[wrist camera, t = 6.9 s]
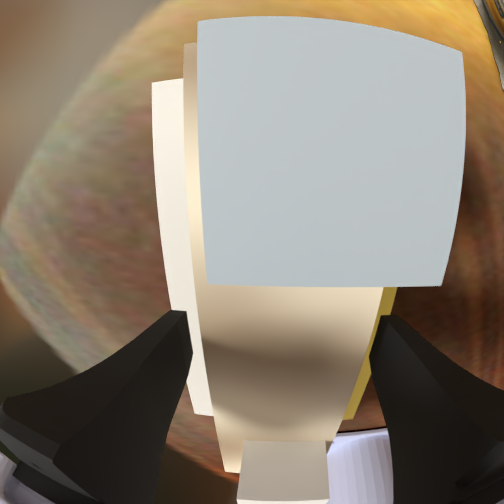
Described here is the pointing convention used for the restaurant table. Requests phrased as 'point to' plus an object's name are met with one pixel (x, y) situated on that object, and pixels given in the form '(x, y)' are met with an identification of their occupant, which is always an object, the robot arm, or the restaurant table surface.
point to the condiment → (494, 29)
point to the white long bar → (271, 336)
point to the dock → (179, 249)
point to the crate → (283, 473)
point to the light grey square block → (327, 153)
